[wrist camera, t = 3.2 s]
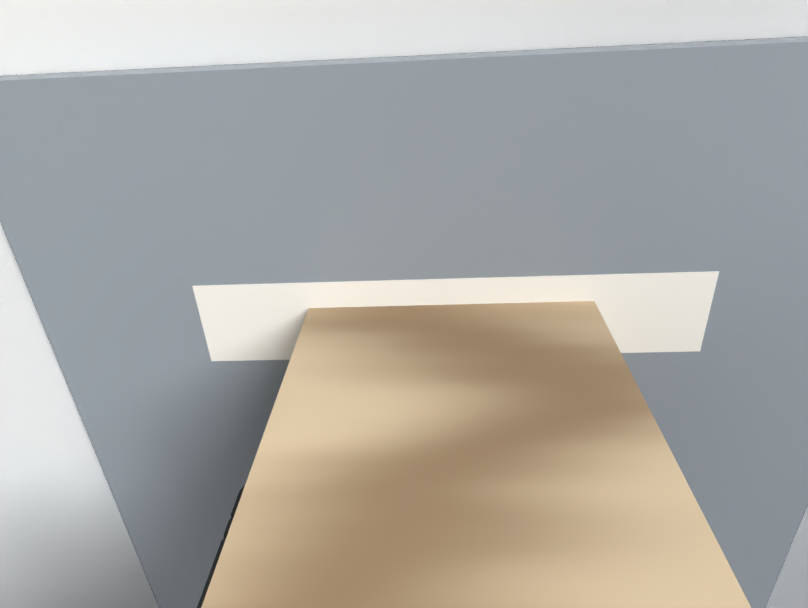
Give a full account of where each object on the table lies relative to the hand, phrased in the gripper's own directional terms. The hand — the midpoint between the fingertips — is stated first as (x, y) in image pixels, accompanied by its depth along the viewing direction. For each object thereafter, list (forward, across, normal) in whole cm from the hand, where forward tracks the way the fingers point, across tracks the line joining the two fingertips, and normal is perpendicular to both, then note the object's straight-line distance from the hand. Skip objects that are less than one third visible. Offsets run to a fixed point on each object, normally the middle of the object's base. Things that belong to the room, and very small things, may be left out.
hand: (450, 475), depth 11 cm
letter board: (+1, 0, 0) cm, 1 cm away
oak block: (+1, 0, 0) cm, 1 cm away
